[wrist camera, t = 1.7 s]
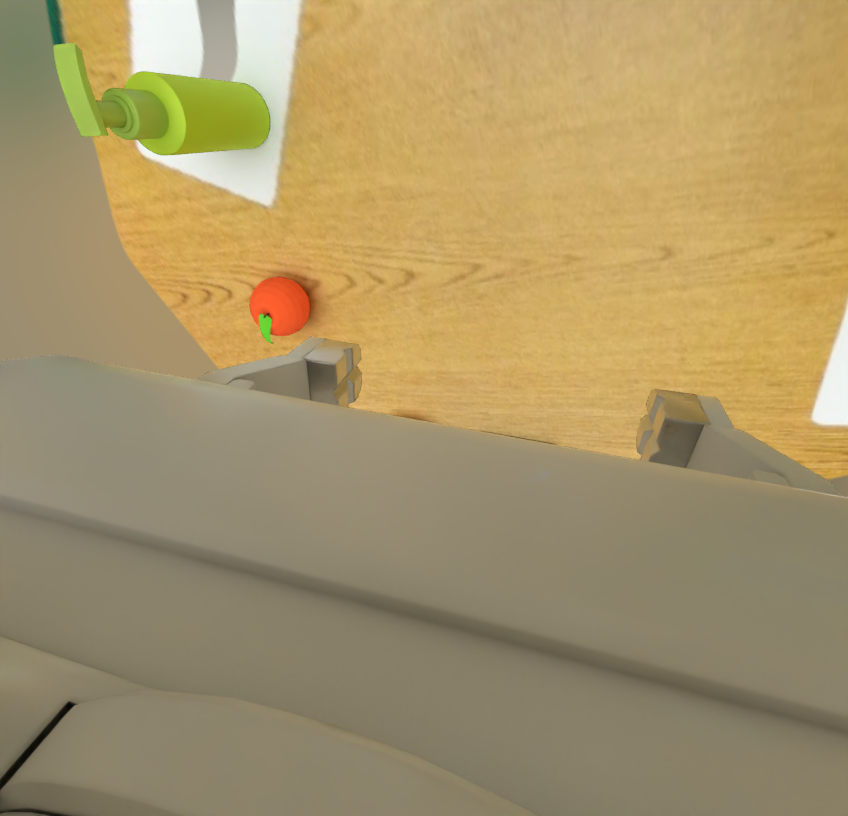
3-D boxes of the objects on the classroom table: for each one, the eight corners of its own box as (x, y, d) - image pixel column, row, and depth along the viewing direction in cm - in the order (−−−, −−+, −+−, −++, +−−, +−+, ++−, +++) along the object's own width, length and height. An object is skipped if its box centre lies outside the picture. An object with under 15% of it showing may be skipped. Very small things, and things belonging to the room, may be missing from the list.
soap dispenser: (261, 68, 47) (92, 38, 30) (275, 147, 50) (130, 159, 34) (211, 72, 48) (23, 46, 32) (227, 149, 52) (67, 162, 35)
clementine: (316, 338, 61) (289, 360, 55) (268, 322, 62) (236, 343, 56) (322, 279, 57) (293, 297, 51) (270, 263, 57) (235, 279, 51)
